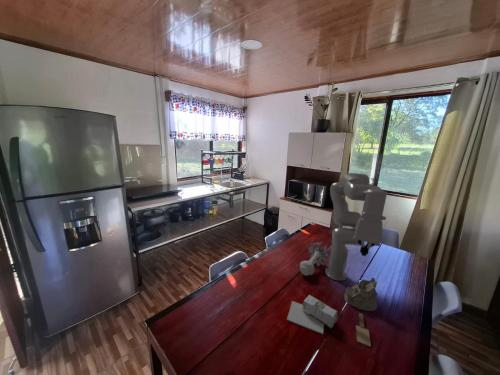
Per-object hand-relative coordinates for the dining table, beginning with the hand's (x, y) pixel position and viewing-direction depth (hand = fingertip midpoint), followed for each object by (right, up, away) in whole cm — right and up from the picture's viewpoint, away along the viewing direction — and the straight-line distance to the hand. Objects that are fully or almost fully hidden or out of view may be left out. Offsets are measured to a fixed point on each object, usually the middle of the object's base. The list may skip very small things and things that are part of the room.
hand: (363, 254), depth 93 cm
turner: (-2, -34, -2) cm, 34 cm away
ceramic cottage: (+8, -30, +17) cm, 35 cm away
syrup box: (-14, -29, -1) cm, 32 cm away
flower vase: (-11, -23, +41) cm, 48 cm away
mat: (-25, -31, +4) cm, 40 cm away
